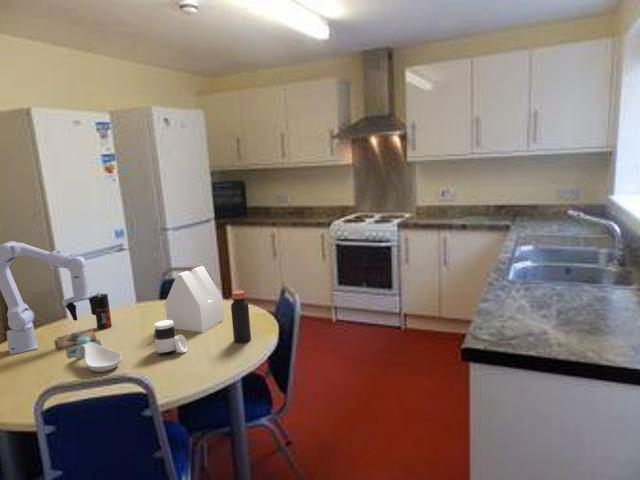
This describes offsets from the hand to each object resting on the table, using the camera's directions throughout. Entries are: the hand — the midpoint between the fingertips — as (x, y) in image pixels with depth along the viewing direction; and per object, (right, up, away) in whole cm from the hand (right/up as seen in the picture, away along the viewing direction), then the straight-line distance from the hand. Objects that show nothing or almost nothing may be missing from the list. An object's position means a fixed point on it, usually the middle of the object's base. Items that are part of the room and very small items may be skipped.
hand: (84, 317), depth 187 cm
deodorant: (0, -8, +18) cm, 19 cm away
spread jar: (+41, -11, -14) cm, 45 cm away
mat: (+4, -12, -7) cm, 14 cm away
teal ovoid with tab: (+4, -11, -7) cm, 14 cm away
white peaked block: (+42, -6, +16) cm, 45 cm away
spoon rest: (+16, -14, -22) cm, 31 cm away
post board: (-5, -10, +3) cm, 12 cm away
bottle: (+67, -8, -7) cm, 68 cm away
